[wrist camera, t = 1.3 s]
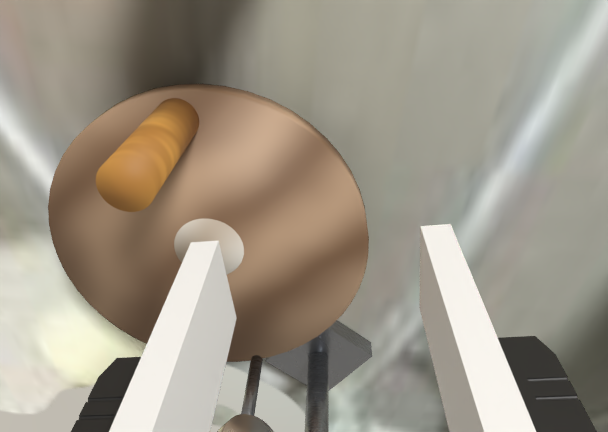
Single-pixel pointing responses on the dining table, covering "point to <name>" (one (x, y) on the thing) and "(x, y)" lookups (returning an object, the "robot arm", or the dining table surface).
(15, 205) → the dining table surface
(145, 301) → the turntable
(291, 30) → the dining table surface
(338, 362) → the dial indicator stand
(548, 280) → the dining table surface
